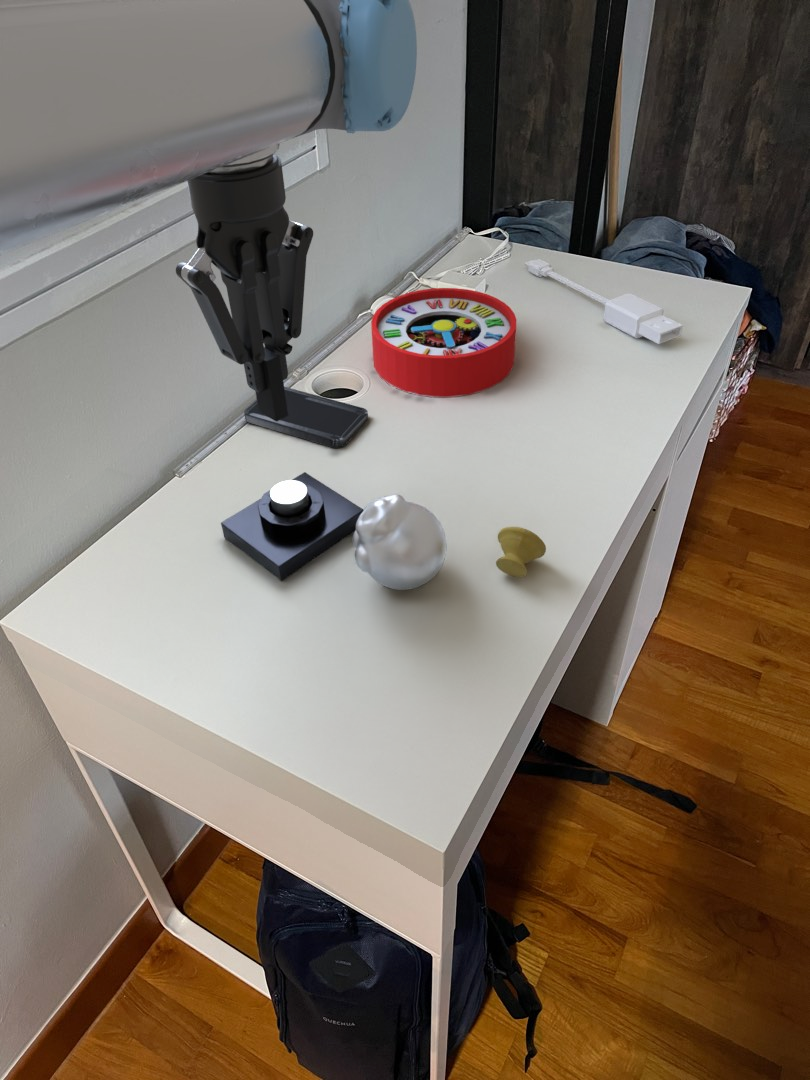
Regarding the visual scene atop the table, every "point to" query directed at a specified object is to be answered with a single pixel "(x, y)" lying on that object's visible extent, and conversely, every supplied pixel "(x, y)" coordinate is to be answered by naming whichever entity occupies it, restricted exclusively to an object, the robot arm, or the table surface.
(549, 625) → the table surface
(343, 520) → the panel
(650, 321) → the charging cable
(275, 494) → the stove button
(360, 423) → the phone
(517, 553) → the knob
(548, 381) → the table surface
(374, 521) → the ghost figurine
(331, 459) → the table surface
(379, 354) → the toy clock
